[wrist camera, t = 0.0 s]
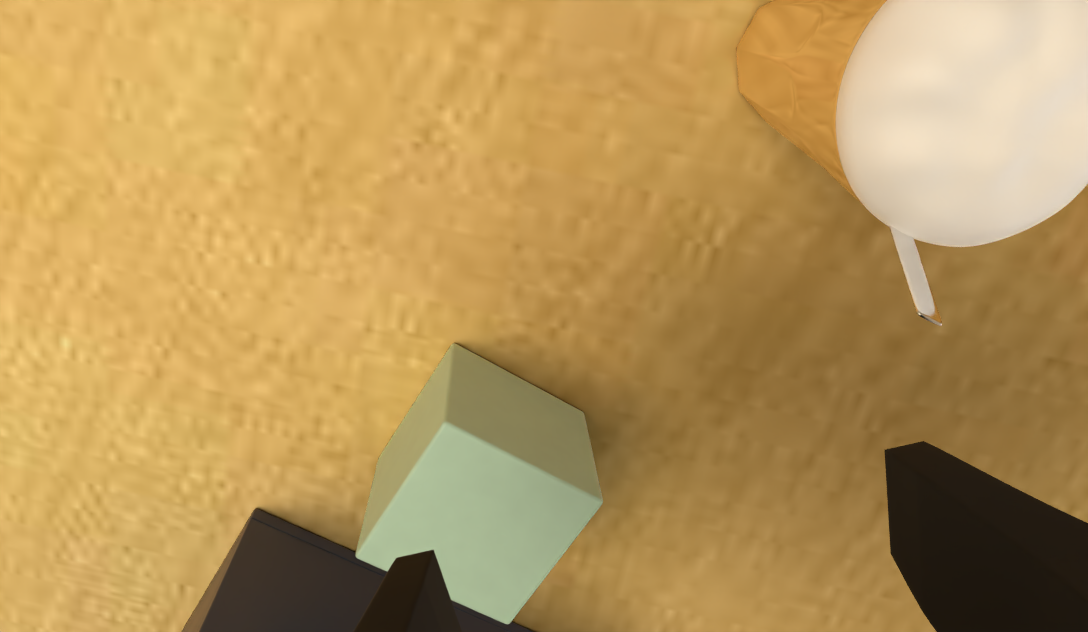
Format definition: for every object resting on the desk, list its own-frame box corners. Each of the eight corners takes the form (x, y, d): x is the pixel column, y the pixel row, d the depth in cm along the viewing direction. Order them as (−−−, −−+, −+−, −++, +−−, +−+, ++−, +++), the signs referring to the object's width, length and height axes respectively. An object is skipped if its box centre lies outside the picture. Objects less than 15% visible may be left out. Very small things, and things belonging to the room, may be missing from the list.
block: (585, 411, 23) (605, 502, 19) (506, 520, 24) (509, 627, 20) (453, 340, 22) (444, 420, 18) (377, 458, 23) (353, 558, 19)
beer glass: (657, 130, 20) (797, 254, 11) (773, -80, 18) (1058, -148, 9) (804, 208, 21) (1047, 381, 12) (927, 15, 19) (1324, 42, 10)
